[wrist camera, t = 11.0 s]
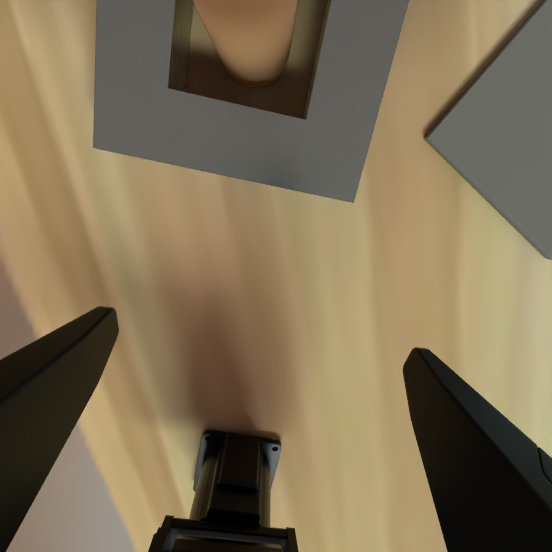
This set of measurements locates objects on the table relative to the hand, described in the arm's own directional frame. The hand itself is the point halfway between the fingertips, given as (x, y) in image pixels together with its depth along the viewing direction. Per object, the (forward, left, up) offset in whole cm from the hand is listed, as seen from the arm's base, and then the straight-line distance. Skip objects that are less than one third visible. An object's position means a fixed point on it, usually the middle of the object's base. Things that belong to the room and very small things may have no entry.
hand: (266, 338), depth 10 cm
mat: (+11, -16, -12) cm, 23 cm away
